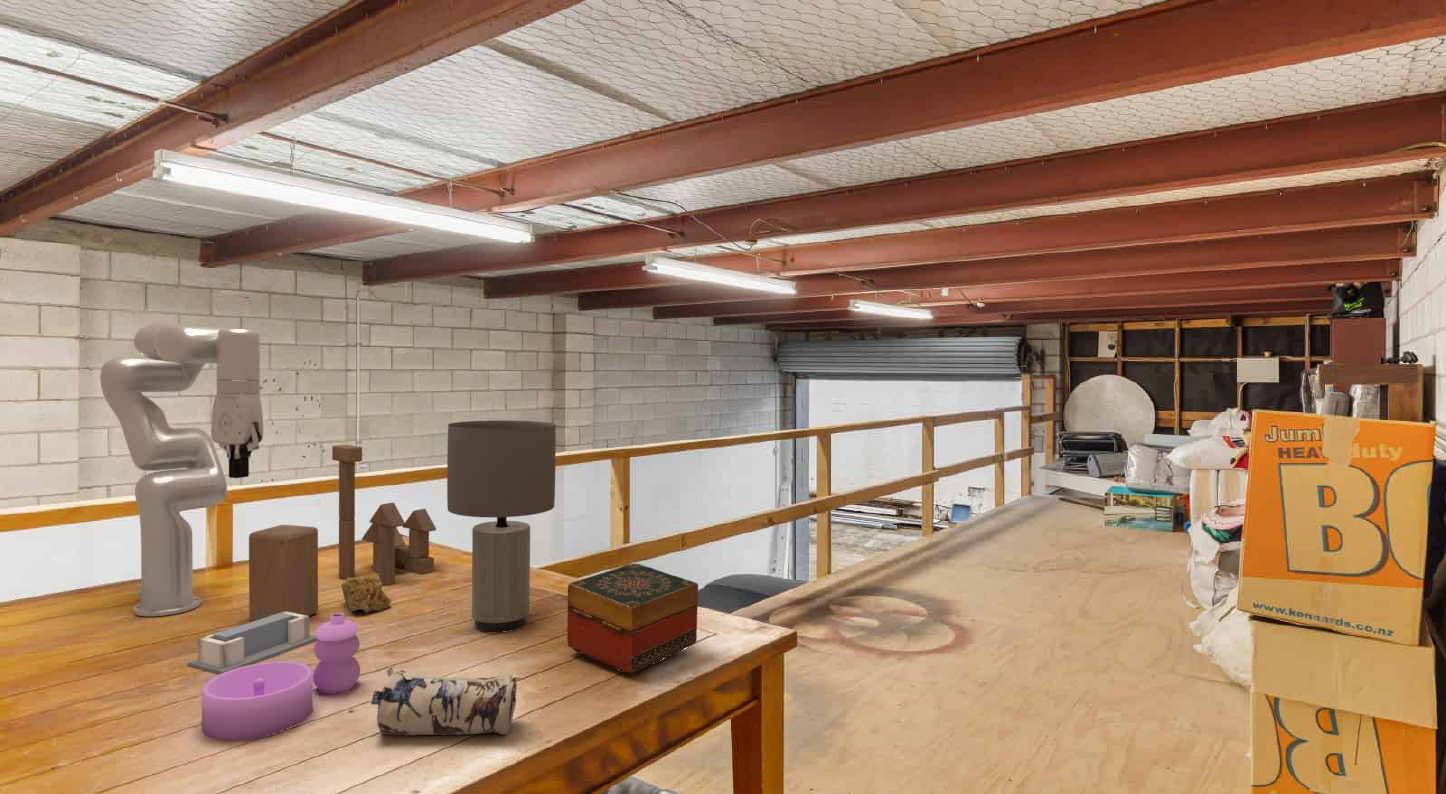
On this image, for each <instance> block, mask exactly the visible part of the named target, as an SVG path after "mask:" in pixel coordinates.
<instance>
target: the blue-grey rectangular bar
mask: <svg viewBox="0 0 1446 794" xmlns="http://www.w3.org/2000/svg"><path fill="white" fill-rule="evenodd" d="M291 620H293V615H290V614H285V613H279V614H276V615H273V616H269V617H266V618H263V619H260V620H257V621H254V622H251V621H250V622H247V623H245V624H241V625H238V626H235V627H232V628H229V629H226V630H222V631H218V632H219V633H218V632H216V633H213V634H214V639H216V640H220V641H224V642H227V641H230V640H233V639H236V638H239V637H242V638H244V657H245V656H248V655H251V654H254V653H256V652H259V651H262V650H265V649H268V648H271V647H273V646H276V645H279V644H282V643H285V642H287V641H288V621H291Z"/></svg>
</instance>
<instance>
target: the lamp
mask: <svg viewBox="0 0 1446 794" xmlns="http://www.w3.org/2000/svg"><path fill="white" fill-rule="evenodd" d="M556 430H557V429H556V424H555V423H552V422H546V421H533V420H530V421H529V420H473V421H472V420H471V421H469V420H467V421H459V422H458V421H457V422H452V423H448V426H447V453H446V455H447V459H446V460H447V463H446V465H447V466H446V467H447V468H446V469H447V472H446V473H447V475H446V476H447V477H446V479H447V481H446V482H447V483H446V485H447V488H446V501H447V503H446V505H447V511H448V512H449V513H451V514H453V515H458V516H463V517H469V518H470V517H471V518H472V517H473V518H491V519H492V518H496V520H494V521H487V522H481V523H478V524H475V525H474V526H473V527H472V532H471V533H472V536H471V539H472V542H471V544H472V545H471V547H472V548H471V552H472V553H471V555H472V556H471V557H472V558H471V618H472V619H473V620H474V621H473V623H474V628H475V630H477V631H479V630H480V631H479V632H482V633H487V632H503V631H510V630H515V631H517V630H516V629H518V630H519V628H520V629H522V628H524V627H525V626H526V625H527V621H528V620H527V619H528V616H529V614H530V597H531V596H530V595H531V594H530V593H531V591H530V589H531V587H530V585H531V580H530V579H531V577H530V576H531V572H530V571H531V525H530V524H529V523H527V522H523V521H517V520H508V519H507V518H514V517H515V518H516V517H523V516H533V515H538V514H543V513H546V512H549V511H551V510H553V509H554V508H555V498H556V452H557V451H556V447H557V446H556V444H557V442H556V440H557V439H556V437H557V436H556V432H557V431H556ZM525 624H526V625H525ZM524 625H525V626H524ZM523 626H524V627H523ZM521 627H522V628H521ZM510 632H511V631H510Z"/></svg>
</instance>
